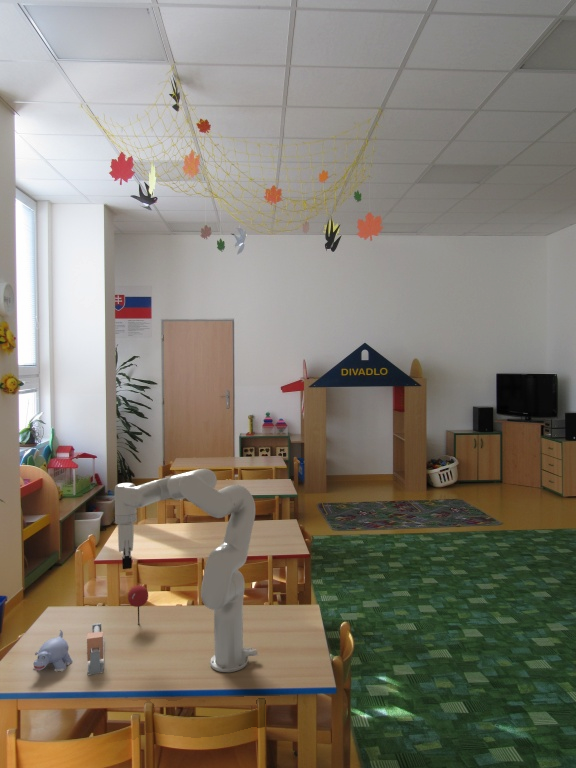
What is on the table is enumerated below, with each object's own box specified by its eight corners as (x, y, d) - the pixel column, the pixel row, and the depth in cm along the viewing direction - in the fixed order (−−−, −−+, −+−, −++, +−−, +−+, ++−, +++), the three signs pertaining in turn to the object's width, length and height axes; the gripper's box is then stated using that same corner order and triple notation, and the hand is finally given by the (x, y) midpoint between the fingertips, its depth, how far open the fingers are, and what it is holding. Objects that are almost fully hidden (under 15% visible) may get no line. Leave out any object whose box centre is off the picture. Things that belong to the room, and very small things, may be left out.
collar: (103, 653, 200) (102, 631, 199) (103, 658, 196) (102, 636, 195) (87, 655, 198) (87, 633, 198) (87, 661, 194) (86, 638, 194)
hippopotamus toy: (22, 678, 190) (21, 649, 189) (48, 655, 205) (47, 628, 204) (53, 681, 188) (52, 652, 188) (77, 657, 203) (76, 630, 202)
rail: (104, 640, 215) (104, 622, 215) (103, 672, 193) (102, 652, 192) (90, 642, 213) (89, 624, 213) (87, 675, 191) (86, 654, 191)
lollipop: (126, 622, 229) (126, 584, 229) (146, 618, 233) (145, 581, 232) (130, 630, 222) (129, 591, 222) (150, 626, 226) (149, 588, 225)
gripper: (115, 513, 218) (116, 562, 219) (115, 524, 204) (116, 576, 204) (136, 511, 220) (137, 560, 221) (137, 522, 206) (138, 574, 207)
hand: (127, 567), depth 213 cm, fingers closed
